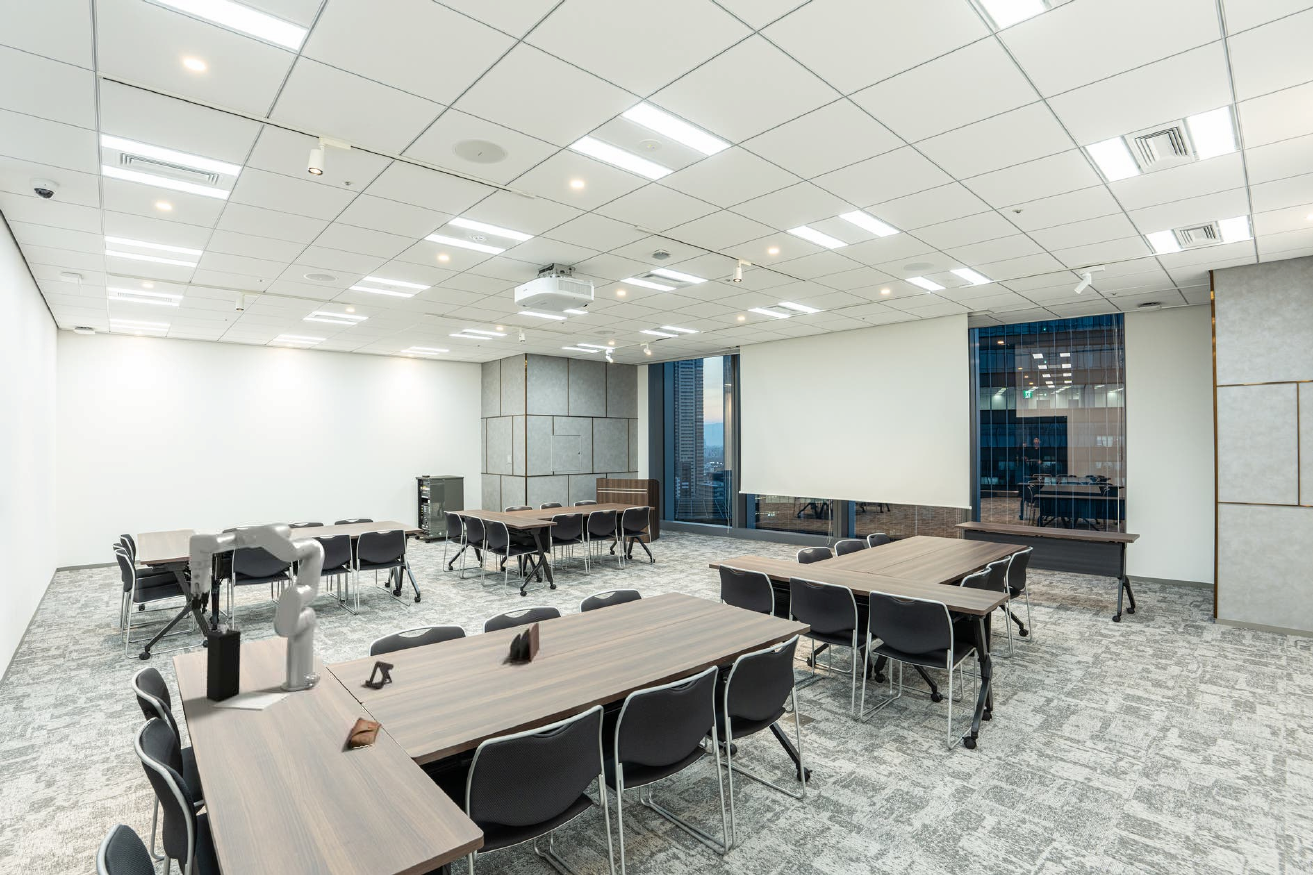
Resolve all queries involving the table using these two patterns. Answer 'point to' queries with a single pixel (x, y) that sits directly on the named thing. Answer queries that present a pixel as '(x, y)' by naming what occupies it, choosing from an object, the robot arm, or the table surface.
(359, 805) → the table surface
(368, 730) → the sunglasses case
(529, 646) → the letter holder
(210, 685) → the black rectangular box
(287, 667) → the robot arm
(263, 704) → the white mat
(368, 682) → the portable electronic device stand
